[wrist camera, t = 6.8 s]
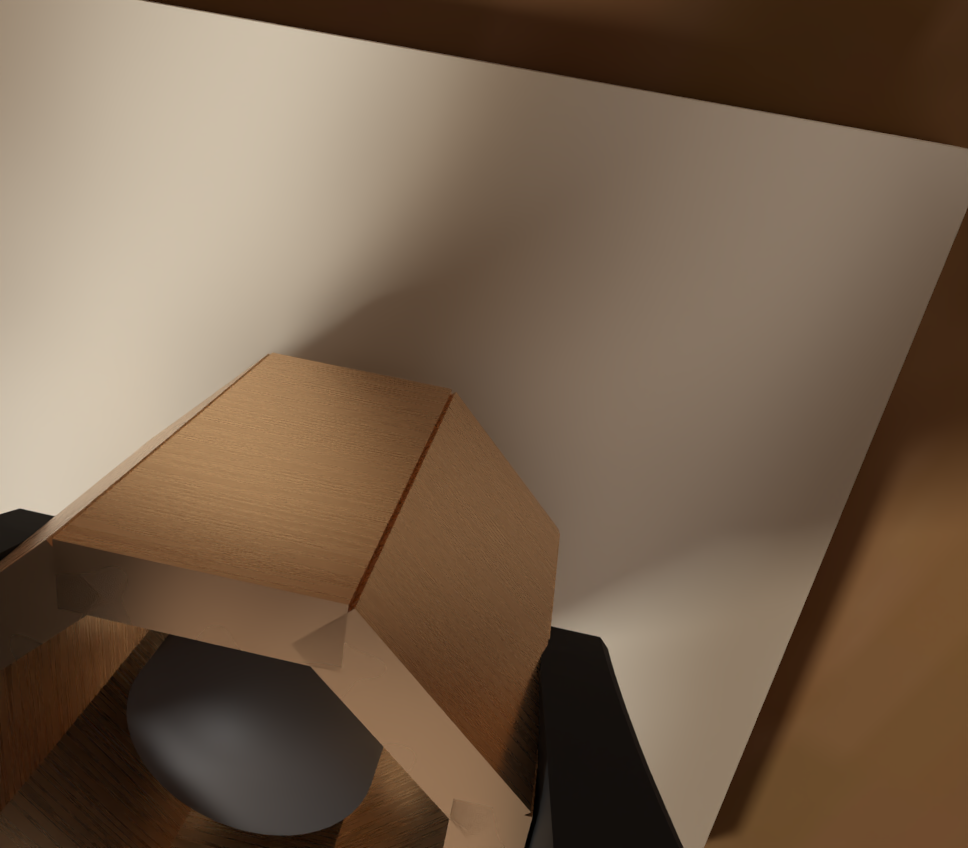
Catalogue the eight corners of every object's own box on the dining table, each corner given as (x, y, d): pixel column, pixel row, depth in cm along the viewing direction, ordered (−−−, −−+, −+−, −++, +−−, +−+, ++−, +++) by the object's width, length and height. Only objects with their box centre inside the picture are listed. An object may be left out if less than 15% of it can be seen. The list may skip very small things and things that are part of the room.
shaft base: (950, 144, 9) (1296, 218, 5) (676, 849, 14) (710, 1217, 10) (-39, -33, 10) (-595, -124, 5) (37, 698, 15) (-215, 975, 10)
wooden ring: (588, 416, 9) (576, 654, 5) (507, 753, 11) (459, 1086, 7) (144, 326, 9) (-158, 491, 6) (150, 669, 11) (-63, 950, 8)
